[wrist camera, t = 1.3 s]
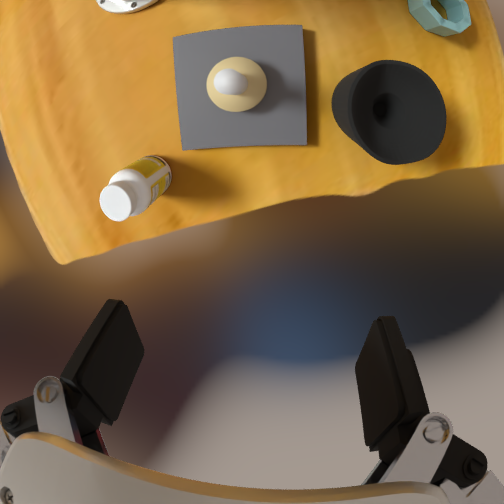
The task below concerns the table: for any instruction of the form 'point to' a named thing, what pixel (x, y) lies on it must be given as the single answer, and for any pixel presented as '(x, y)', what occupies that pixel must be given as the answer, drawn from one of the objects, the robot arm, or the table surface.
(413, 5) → the ring
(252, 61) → the post stand
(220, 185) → the table surface
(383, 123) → the pen holder
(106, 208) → the supplement bottle
